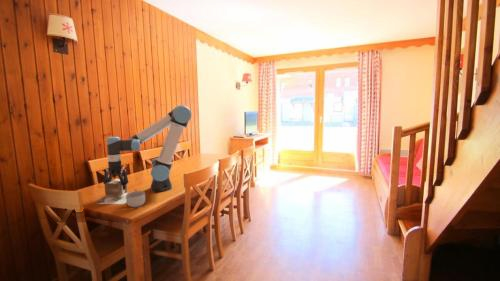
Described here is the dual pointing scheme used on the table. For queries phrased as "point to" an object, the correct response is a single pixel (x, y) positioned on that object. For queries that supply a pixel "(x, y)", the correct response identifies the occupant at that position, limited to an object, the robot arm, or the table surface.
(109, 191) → the wooden box
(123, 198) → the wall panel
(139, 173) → the table surface
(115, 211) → the table surface
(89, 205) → the table surface
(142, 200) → the teacup
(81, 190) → the table surface
